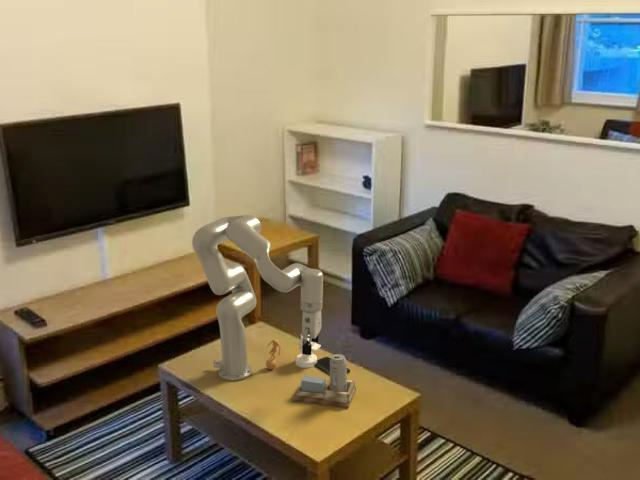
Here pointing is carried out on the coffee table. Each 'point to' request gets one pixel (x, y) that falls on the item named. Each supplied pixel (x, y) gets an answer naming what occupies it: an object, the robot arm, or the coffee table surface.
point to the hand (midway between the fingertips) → (310, 348)
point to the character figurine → (307, 360)
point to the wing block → (313, 384)
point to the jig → (327, 396)
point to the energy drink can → (338, 373)
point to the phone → (325, 365)
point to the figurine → (271, 362)
